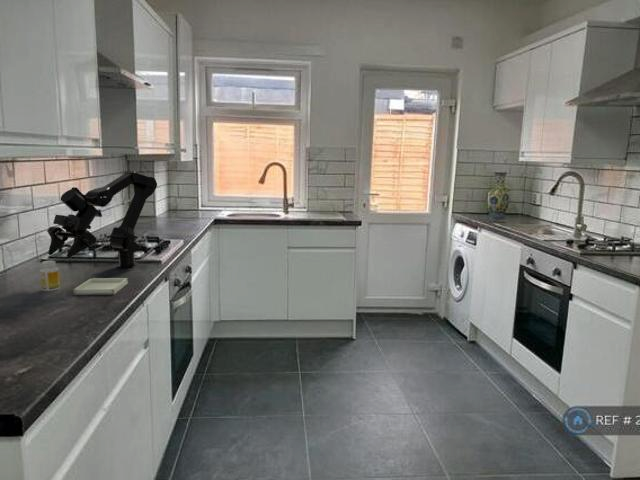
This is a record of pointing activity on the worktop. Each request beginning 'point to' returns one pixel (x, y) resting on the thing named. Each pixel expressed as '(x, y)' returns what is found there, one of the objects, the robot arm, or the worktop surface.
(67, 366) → the worktop surface
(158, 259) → the worktop surface
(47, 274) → the supplement bottle
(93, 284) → the sage tray
